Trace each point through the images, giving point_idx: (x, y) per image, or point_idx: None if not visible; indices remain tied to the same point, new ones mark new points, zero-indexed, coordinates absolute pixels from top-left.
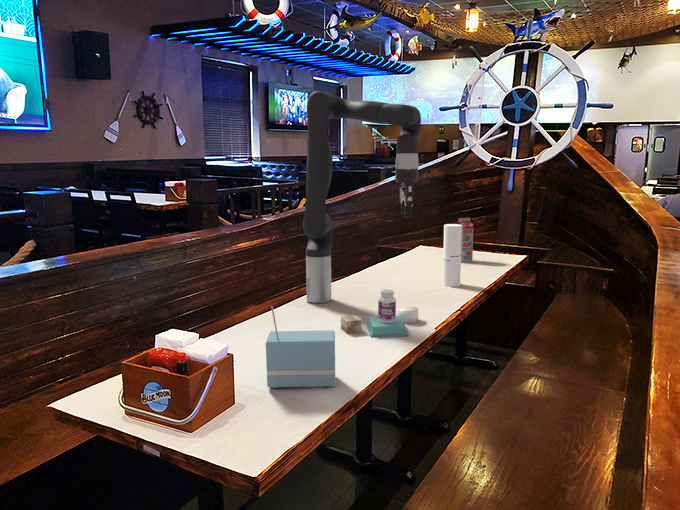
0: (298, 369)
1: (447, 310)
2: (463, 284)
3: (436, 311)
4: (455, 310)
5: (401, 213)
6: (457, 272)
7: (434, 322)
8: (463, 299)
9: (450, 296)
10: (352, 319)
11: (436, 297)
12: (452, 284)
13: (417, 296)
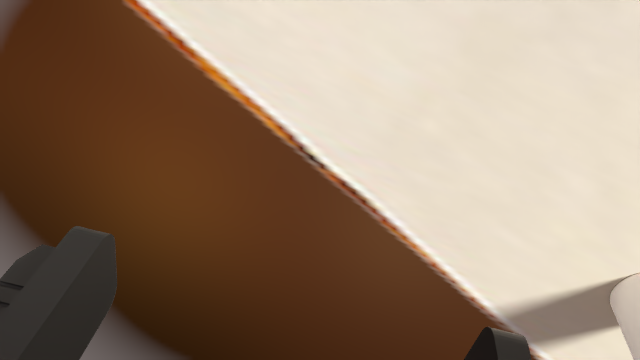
0: None
1: (320, 126)
2: None
3: (319, 83)
4: (312, 150)
5: (494, 337)
6: (629, 345)
7: (183, 12)
8: (434, 235)
9: (493, 219)
10: None
11: (506, 170)
12: (619, 292)
13: (564, 110)
